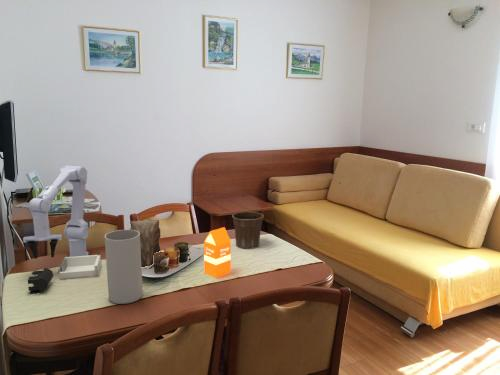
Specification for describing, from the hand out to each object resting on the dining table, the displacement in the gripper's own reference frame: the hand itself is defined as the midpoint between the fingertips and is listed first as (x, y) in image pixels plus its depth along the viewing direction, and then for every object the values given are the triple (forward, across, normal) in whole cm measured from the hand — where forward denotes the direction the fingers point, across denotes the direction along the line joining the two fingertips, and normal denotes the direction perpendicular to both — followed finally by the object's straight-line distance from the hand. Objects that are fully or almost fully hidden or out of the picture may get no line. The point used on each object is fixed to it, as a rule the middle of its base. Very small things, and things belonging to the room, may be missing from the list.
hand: (44, 257), depth 176 cm
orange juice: (+9, +72, -13) cm, 74 cm away
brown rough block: (+9, +41, +4) cm, 42 cm away
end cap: (+9, +1, -13) cm, 15 cm away
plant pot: (+9, +93, +19) cm, 95 cm away
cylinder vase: (+9, +34, -28) cm, 45 cm away
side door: (+7, +6, +1) cm, 10 cm away
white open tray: (+8, +14, +1) cm, 16 cm away
